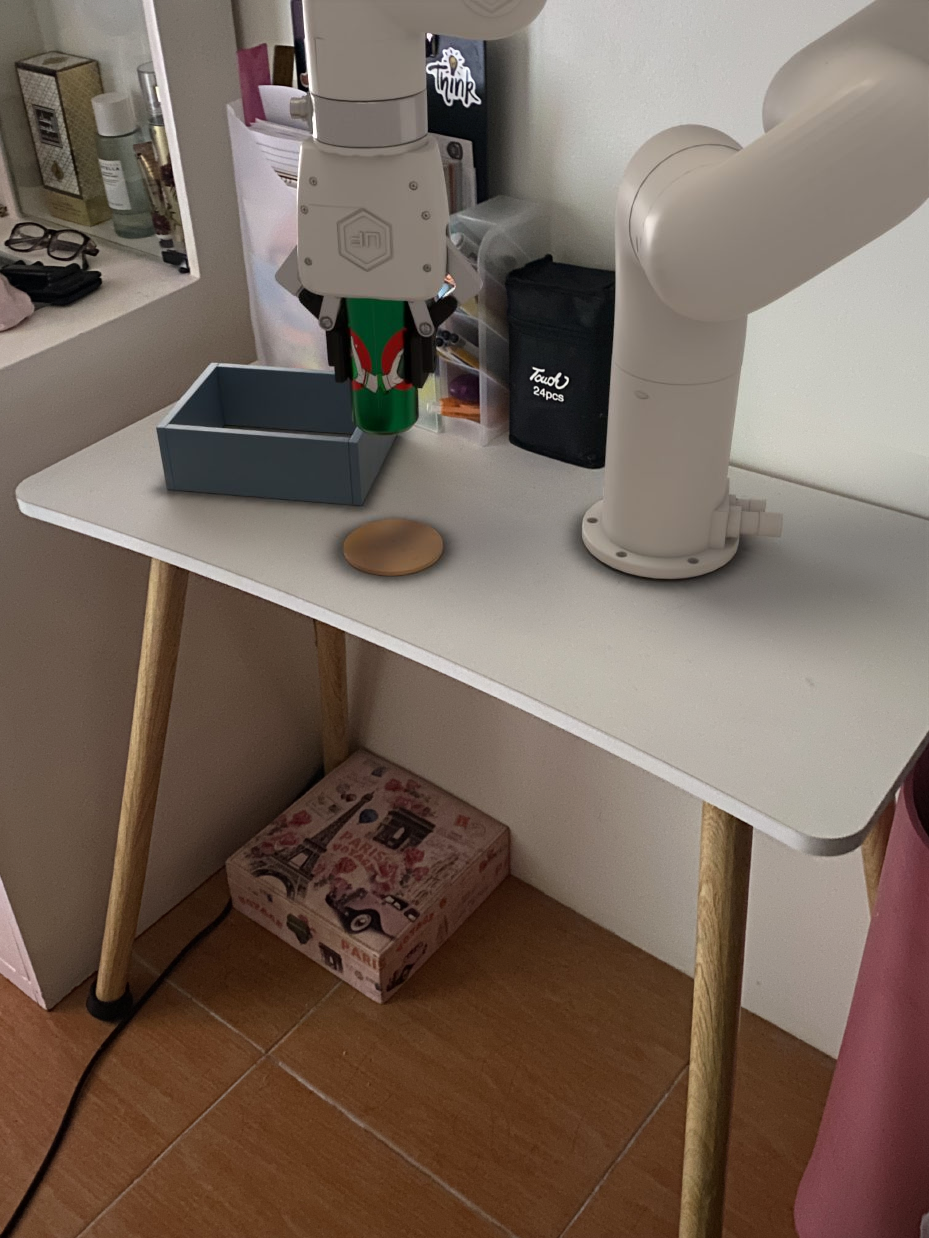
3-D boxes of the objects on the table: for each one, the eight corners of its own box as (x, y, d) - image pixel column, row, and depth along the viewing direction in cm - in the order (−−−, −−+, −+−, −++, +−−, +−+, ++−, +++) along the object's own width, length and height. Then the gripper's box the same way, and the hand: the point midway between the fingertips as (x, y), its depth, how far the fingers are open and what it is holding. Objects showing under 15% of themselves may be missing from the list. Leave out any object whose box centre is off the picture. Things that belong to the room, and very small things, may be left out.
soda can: (423, 410, 94) (418, 256, 87) (414, 440, 90) (408, 281, 83) (358, 408, 94) (348, 254, 87) (346, 438, 90) (334, 279, 83)
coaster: (451, 527, 101) (451, 523, 101) (431, 580, 95) (431, 576, 94) (357, 519, 102) (357, 515, 102) (332, 570, 96) (331, 566, 96)
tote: (397, 433, 115) (394, 374, 111) (361, 506, 104) (357, 442, 101) (219, 420, 118) (211, 362, 114) (166, 489, 107) (155, 427, 103)
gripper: (225, 128, 78) (256, 392, 88) (489, 138, 75) (489, 408, 86) (262, 101, 84) (287, 350, 94) (508, 109, 81) (505, 365, 92)
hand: (383, 375), depth 90 cm, fingers closed on soda can, 5 cm apart
